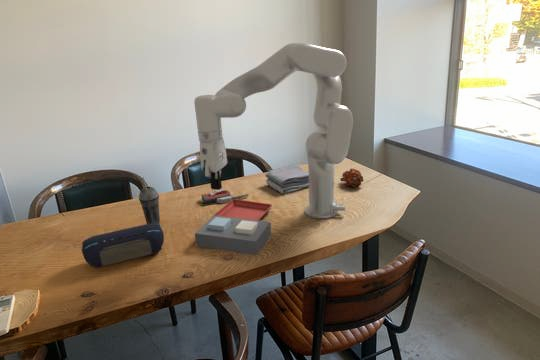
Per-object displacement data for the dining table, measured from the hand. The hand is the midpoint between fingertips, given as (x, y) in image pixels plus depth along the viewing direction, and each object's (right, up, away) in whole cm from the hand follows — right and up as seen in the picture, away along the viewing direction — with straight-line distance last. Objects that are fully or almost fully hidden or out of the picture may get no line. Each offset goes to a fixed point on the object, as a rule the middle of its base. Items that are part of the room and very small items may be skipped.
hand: (216, 188), depth 133 cm
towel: (+27, 0, +50) cm, 57 cm away
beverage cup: (-26, -15, +19) cm, 36 cm away
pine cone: (+54, 0, +47) cm, 72 cm away
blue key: (+1, -16, +6) cm, 17 cm away
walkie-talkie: (-2, -6, +39) cm, 40 cm away
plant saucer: (+7, -12, +22) cm, 26 cm away
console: (+6, -18, +5) cm, 19 cm away
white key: (+10, -17, +3) cm, 20 cm away
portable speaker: (-29, -23, -2) cm, 37 cm away
